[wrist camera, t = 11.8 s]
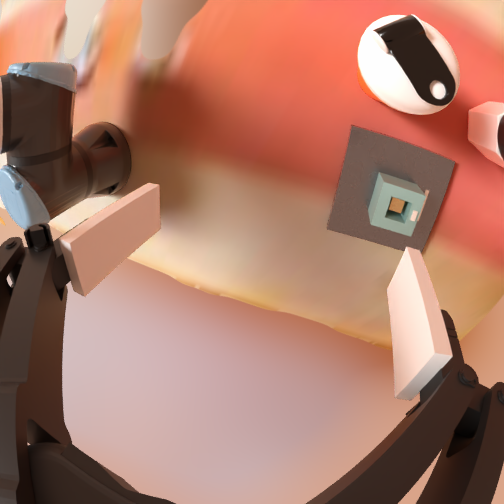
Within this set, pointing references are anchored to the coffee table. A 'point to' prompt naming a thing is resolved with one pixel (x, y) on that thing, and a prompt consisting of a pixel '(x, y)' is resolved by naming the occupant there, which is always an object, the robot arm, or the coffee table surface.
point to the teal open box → (401, 190)
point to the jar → (488, 130)
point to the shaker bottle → (407, 65)
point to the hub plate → (394, 165)
